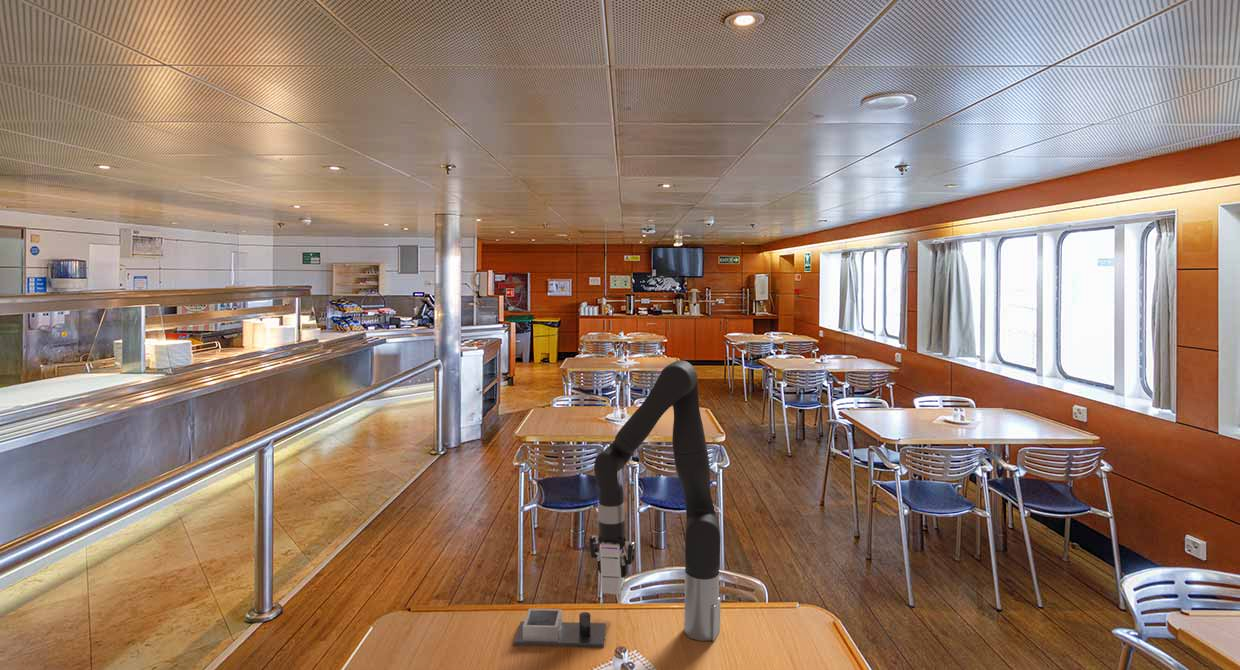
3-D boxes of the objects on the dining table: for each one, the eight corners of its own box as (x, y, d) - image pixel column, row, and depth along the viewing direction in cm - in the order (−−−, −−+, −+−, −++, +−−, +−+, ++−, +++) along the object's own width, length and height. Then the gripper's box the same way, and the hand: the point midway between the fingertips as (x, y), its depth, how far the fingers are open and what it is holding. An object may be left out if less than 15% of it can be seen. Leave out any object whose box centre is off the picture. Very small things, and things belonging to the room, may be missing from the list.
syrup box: (621, 595, 177) (620, 545, 176) (600, 593, 178) (599, 544, 177) (625, 585, 183) (624, 537, 181) (605, 583, 184) (604, 535, 183)
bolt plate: (606, 626, 175) (606, 606, 175) (604, 647, 165) (604, 625, 165) (520, 624, 176) (520, 604, 176) (513, 645, 166) (513, 623, 166)
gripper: (640, 516, 179) (641, 573, 180) (595, 510, 185) (596, 564, 187) (629, 526, 172) (630, 585, 174) (583, 518, 178) (584, 575, 180)
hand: (612, 574), depth 180 cm, fingers closed on syrup box, 6 cm apart
